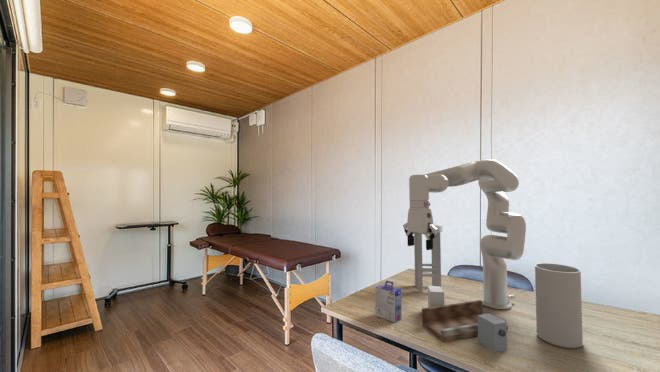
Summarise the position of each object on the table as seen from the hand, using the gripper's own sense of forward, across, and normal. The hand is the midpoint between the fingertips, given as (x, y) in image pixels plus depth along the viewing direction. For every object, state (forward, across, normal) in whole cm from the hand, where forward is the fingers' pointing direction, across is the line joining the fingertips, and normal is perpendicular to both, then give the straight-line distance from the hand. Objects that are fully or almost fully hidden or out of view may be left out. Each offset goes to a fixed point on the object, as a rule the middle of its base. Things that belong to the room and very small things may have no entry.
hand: (419, 247), depth 114 cm
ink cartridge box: (+30, +10, +8) cm, 33 cm away
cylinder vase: (+30, -34, -30) cm, 55 cm away
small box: (+30, +2, -11) cm, 32 cm away
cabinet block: (+30, -25, -7) cm, 39 cm away
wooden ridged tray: (+30, -12, -10) cm, 33 cm away
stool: (+30, +25, -32) cm, 50 cm away
